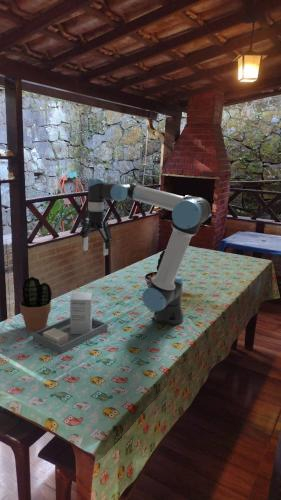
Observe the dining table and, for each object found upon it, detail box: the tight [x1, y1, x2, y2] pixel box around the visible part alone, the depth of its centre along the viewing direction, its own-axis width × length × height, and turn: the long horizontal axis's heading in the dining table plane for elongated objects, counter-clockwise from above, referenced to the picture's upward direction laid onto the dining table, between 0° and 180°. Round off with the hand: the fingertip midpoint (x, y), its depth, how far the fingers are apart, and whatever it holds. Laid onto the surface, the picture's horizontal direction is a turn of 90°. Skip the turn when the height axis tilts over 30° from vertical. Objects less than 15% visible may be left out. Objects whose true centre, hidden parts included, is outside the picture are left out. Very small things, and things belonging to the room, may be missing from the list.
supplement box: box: [69, 291, 93, 334], centre depth 166 cm, size 10×9×17 cm
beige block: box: [43, 328, 68, 345], centre depth 156 cm, size 9×6×4 cm, turn 54°
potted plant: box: [19, 276, 53, 332], centre depth 167 cm, size 14×14×25 cm
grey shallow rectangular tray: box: [32, 316, 108, 354], centre depth 163 cm, size 18×28×4 cm, turn 144°
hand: (95, 252), depth 183 cm, fingers open, 13 cm apart
